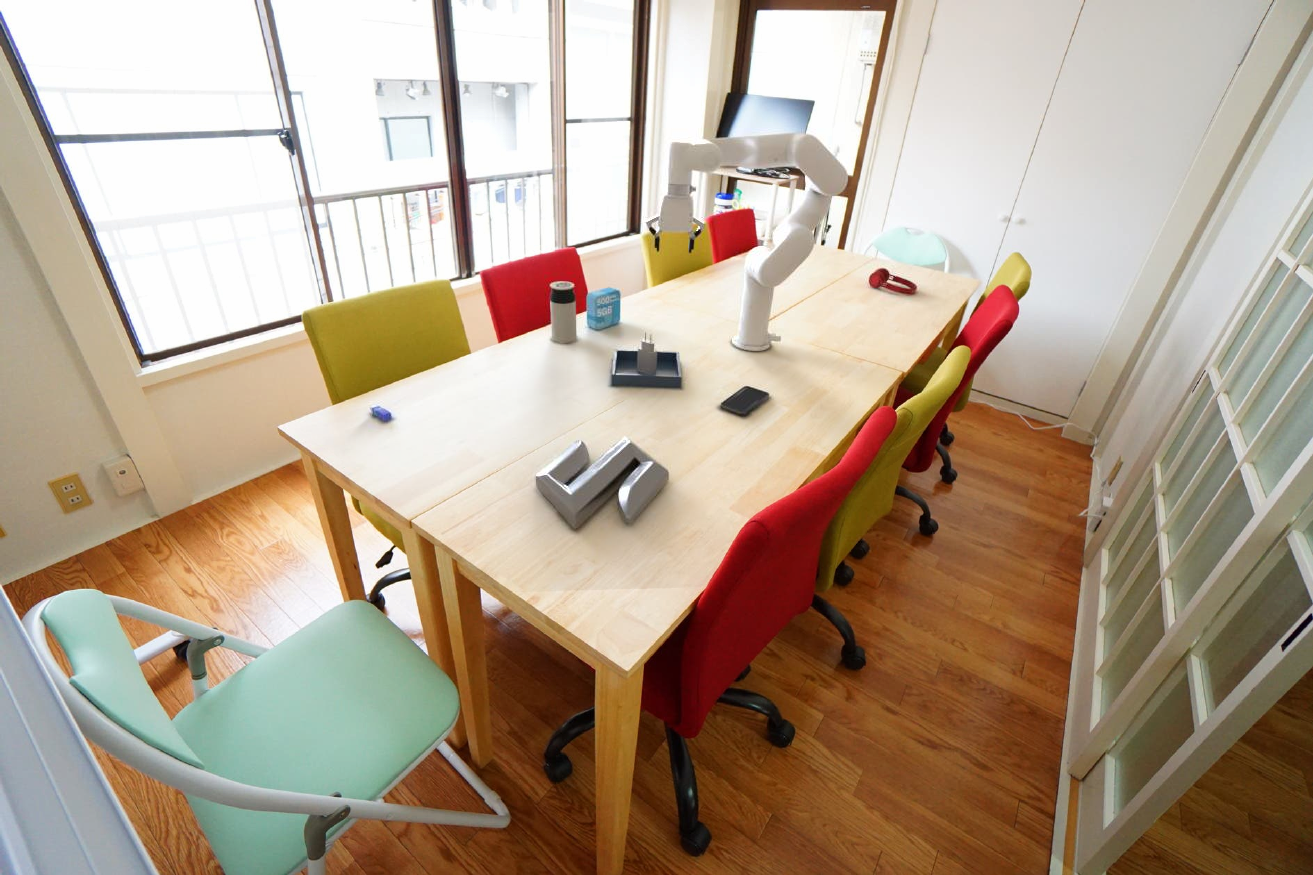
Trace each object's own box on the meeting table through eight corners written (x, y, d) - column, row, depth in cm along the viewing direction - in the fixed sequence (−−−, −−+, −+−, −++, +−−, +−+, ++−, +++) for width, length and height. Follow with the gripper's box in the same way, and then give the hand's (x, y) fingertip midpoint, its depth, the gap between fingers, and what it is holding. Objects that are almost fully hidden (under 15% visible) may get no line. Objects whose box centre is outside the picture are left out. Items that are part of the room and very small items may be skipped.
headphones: (864, 286, 255) (908, 302, 248) (870, 271, 251) (915, 286, 244) (872, 279, 266) (915, 294, 259) (878, 264, 262) (922, 279, 255)
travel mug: (581, 337, 191) (579, 283, 182) (568, 345, 185) (566, 290, 176) (560, 332, 194) (558, 279, 184) (547, 340, 188) (544, 285, 178)
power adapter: (642, 367, 172) (643, 329, 166) (657, 372, 170) (659, 334, 163) (636, 371, 170) (637, 332, 164) (651, 376, 167) (652, 337, 161)
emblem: (677, 507, 109) (527, 509, 106) (675, 529, 112) (529, 531, 109) (663, 430, 132) (540, 430, 130) (662, 450, 135) (542, 450, 133)
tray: (678, 362, 178) (678, 351, 176) (680, 388, 163) (681, 377, 161) (614, 360, 177) (614, 349, 175) (611, 386, 162) (611, 374, 160)
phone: (719, 404, 153) (745, 385, 164) (718, 408, 154) (745, 388, 164) (745, 413, 150) (771, 393, 160) (744, 417, 150) (770, 397, 161)
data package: (595, 331, 197) (595, 296, 190) (586, 327, 199) (585, 293, 193) (620, 322, 204) (620, 289, 198) (611, 319, 207) (611, 286, 201)
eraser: (378, 411, 144) (377, 403, 143) (392, 419, 141) (390, 412, 140) (371, 413, 143) (369, 406, 142) (384, 422, 140) (383, 414, 139)
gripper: (706, 189, 168) (701, 249, 177) (647, 186, 167) (645, 247, 176) (709, 193, 161) (703, 256, 170) (647, 190, 161) (644, 253, 170)
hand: (673, 251), depth 173 cm, fingers open, 9 cm apart
